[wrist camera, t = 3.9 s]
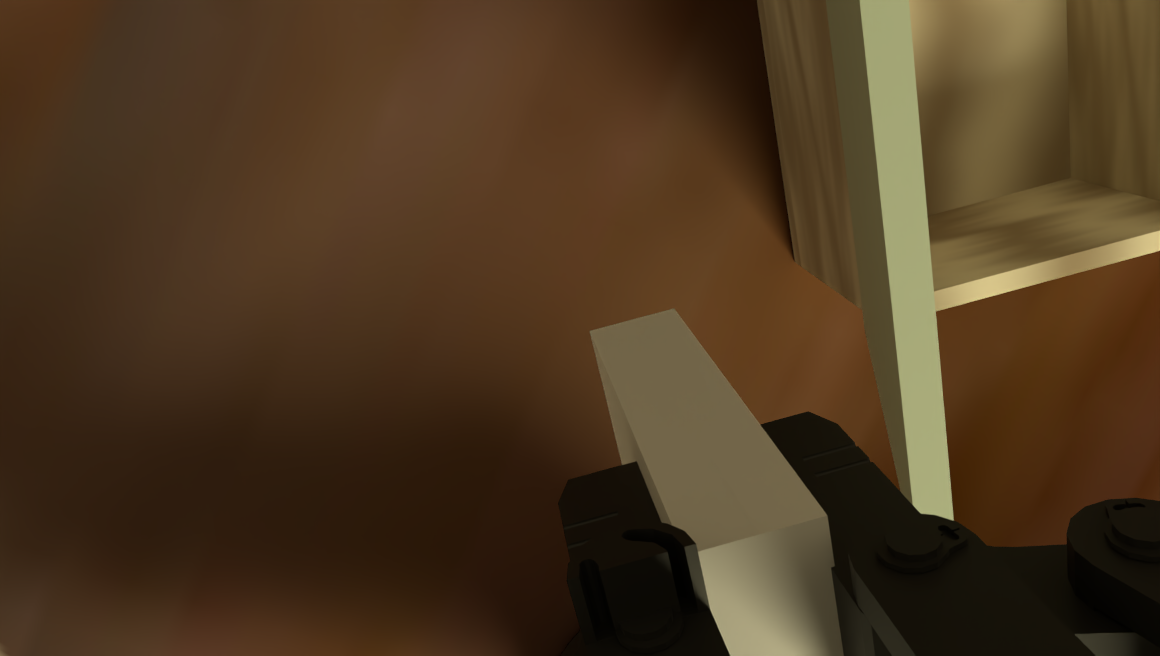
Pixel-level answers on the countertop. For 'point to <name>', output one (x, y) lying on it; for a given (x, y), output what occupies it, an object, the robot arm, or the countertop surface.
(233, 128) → the countertop surface
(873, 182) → the lid
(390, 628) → the countertop surface
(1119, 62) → the crate
